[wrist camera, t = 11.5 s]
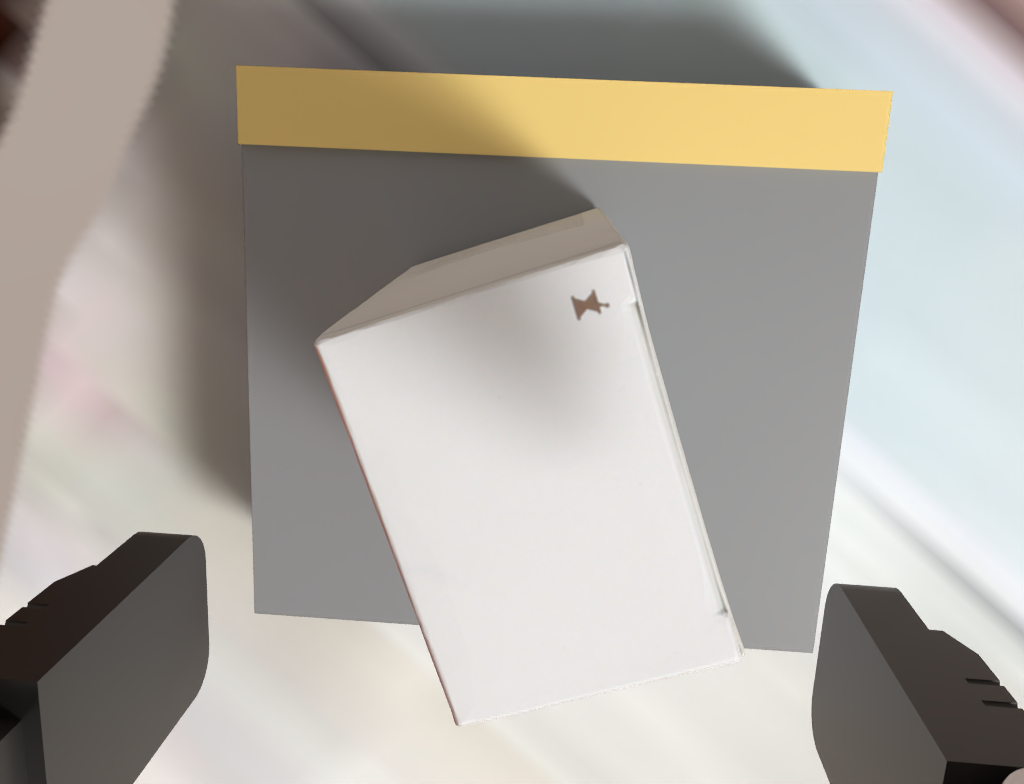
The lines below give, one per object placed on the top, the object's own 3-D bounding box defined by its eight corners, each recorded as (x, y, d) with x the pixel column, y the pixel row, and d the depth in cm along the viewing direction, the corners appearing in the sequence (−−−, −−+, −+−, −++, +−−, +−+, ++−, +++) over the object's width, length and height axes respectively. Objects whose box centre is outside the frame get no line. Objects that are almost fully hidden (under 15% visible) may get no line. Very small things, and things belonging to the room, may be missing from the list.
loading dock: (835, 105, 28) (893, 91, 23) (776, 580, 32) (815, 658, 27) (294, 83, 29) (236, 65, 24) (301, 548, 33) (251, 617, 28)
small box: (409, 264, 25) (299, 329, 15) (604, 203, 25) (626, 228, 14) (496, 524, 27) (450, 741, 17) (681, 475, 26) (750, 669, 16)
